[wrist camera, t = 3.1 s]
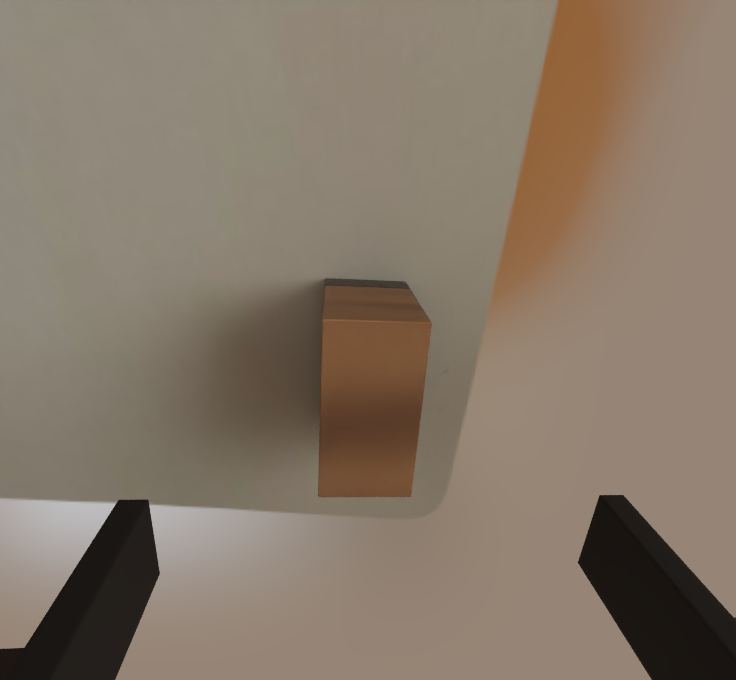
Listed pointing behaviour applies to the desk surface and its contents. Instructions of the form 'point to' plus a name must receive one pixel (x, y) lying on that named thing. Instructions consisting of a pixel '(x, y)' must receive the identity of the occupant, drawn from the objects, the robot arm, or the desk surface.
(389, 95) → the desk surface
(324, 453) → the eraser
